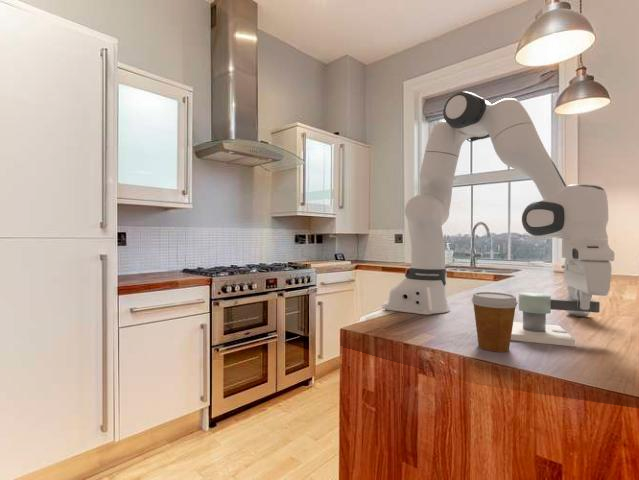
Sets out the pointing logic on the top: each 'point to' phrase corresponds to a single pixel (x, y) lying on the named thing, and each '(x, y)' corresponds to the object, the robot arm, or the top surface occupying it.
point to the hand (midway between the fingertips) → (583, 308)
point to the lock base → (540, 331)
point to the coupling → (550, 304)
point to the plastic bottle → (572, 296)
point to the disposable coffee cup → (494, 319)
